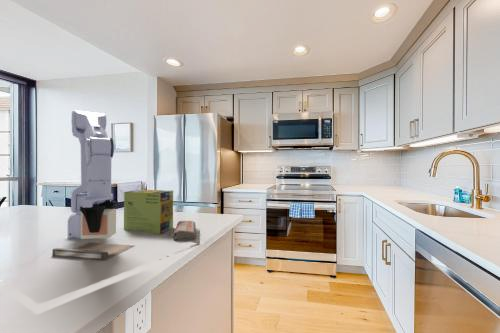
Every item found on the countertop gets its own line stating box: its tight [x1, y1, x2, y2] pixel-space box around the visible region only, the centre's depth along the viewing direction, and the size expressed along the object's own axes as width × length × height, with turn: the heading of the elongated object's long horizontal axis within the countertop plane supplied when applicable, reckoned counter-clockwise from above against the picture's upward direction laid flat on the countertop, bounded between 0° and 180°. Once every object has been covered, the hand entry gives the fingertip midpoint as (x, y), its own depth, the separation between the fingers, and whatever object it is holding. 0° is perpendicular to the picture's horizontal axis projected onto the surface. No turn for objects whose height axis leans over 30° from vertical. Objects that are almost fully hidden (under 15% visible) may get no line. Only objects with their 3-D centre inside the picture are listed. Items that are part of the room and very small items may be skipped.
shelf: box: [51, 241, 135, 261], centre depth 70 cm, size 16×12×3 cm
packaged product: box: [169, 220, 200, 245], centre depth 88 cm, size 18×5×10 cm
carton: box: [80, 208, 117, 240], centre depth 69 cm, size 5×7×7 cm
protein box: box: [123, 189, 174, 235], centre depth 98 cm, size 10×15×16 cm
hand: (99, 229), depth 69 cm, fingers closed on carton, 5 cm apart
